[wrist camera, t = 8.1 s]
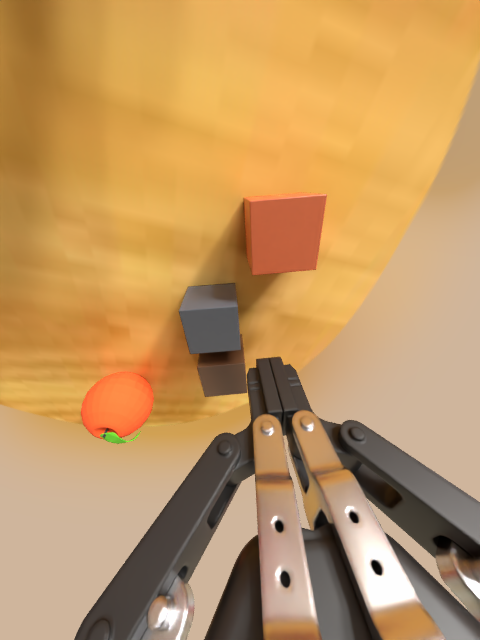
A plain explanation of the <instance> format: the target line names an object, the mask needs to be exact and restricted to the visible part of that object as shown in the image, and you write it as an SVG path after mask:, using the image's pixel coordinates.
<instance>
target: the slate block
mask: <svg viewBox="0 0 480 640" xmlns="http://www.w3.org/2000/svg"><path fill="white" fill-rule="evenodd" d="M179 314H180V317H181V321H182V325H183V329H184V332H185V336H186V340H187V344H188V347H189V351H190V354H198V353H210V352H222V351H235V350H241V345H240V332H239V318H238V305H237V295H236V284H235V283H230V284H217V285H204V286H191V287H188V288H187V291H186V294H185V296H184V299H183V301H182V304H181V307H180V309H179Z"/></svg>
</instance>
